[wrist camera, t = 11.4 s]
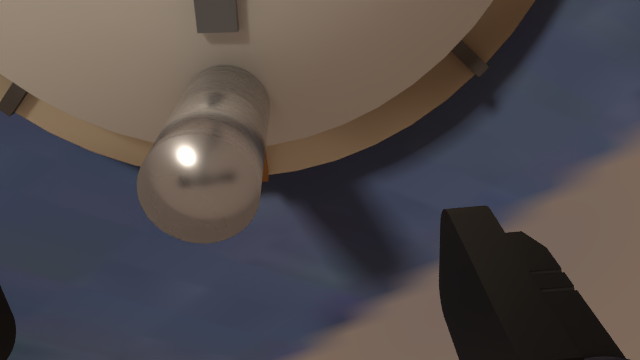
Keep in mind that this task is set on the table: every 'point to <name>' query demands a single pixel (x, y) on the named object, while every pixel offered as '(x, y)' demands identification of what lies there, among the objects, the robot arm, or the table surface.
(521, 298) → the robot arm
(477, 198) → the table surface
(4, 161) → the table surface
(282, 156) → the dial base
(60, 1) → the dial
